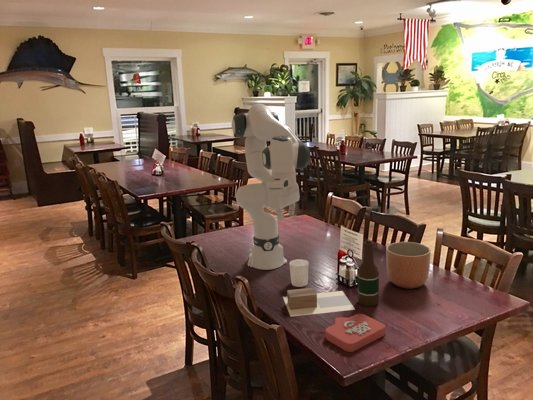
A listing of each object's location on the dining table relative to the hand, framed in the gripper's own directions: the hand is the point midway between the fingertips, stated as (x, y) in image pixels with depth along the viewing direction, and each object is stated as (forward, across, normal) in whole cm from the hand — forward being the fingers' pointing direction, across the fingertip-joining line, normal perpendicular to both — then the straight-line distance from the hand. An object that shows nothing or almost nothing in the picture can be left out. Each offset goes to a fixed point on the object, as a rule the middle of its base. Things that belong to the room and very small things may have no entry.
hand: (286, 217), depth 168 cm
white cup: (+32, -16, -3) cm, 36 cm away
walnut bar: (+33, +1, +5) cm, 33 cm away
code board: (+34, -2, +10) cm, 35 cm away
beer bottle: (+35, -11, +27) cm, 45 cm away
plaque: (+37, +13, +27) cm, 48 cm away
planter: (+34, -33, +37) cm, 60 cm away
